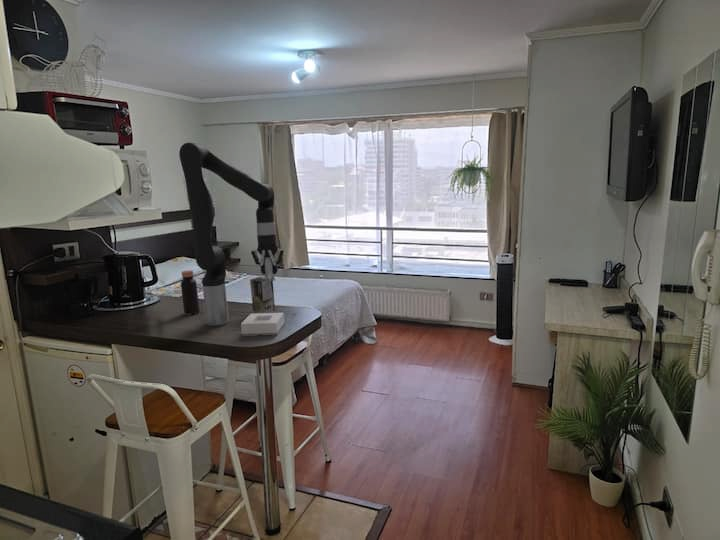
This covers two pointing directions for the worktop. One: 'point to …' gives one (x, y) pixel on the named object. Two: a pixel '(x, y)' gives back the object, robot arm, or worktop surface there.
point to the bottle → (189, 293)
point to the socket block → (262, 324)
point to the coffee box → (262, 295)
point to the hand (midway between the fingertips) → (269, 273)
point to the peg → (268, 269)
